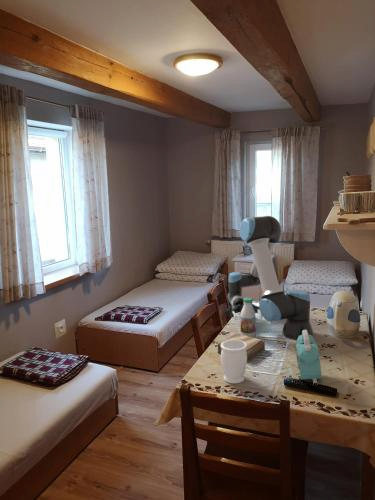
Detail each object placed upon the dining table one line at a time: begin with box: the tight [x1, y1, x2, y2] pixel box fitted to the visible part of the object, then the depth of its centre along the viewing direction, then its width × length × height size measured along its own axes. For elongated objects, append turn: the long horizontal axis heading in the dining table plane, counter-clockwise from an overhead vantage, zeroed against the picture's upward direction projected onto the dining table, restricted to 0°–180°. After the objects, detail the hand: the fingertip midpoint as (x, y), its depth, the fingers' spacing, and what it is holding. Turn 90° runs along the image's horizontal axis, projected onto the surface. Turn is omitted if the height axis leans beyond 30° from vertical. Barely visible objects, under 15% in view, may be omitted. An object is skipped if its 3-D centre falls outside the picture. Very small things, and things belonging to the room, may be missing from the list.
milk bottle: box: [240, 297, 257, 338], centre depth 202 cm, size 8×8×20 cm
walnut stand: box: [217, 332, 266, 363], centre depth 185 cm, size 16×16×5 cm
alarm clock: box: [296, 330, 323, 384], centre depth 157 cm, size 17×10×20 cm, turn 168°
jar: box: [220, 339, 248, 384], centre depth 159 cm, size 11×10×15 cm
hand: (248, 317), depth 199 cm, fingers open, 13 cm apart
